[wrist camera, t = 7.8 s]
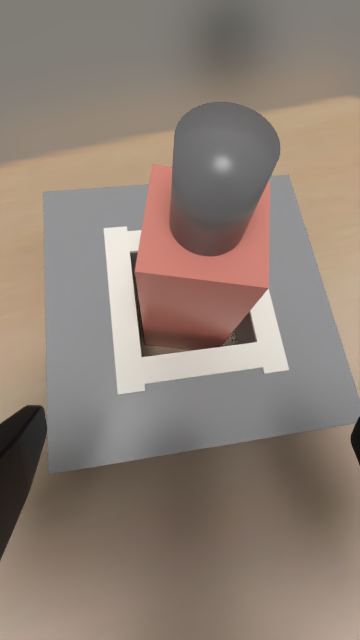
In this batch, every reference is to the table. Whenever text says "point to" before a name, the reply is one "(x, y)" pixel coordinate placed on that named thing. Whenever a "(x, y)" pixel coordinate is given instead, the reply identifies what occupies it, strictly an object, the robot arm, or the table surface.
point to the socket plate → (183, 367)
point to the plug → (207, 228)
